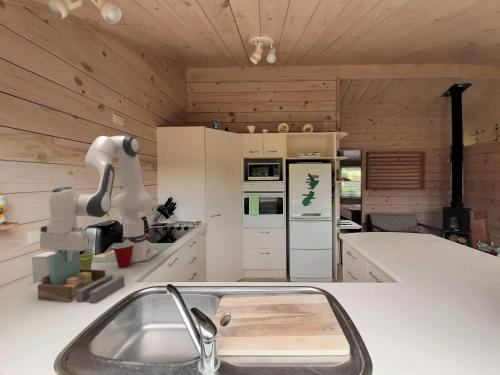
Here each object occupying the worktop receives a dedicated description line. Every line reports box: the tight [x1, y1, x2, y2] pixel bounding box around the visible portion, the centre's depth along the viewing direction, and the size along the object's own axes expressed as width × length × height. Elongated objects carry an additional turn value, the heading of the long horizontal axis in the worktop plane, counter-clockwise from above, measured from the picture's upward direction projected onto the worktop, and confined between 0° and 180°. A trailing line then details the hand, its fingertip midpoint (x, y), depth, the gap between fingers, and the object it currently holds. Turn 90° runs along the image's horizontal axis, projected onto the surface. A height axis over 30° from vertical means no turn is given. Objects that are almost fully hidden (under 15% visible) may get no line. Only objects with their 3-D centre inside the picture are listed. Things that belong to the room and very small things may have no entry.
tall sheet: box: [49, 250, 80, 286], centre depth 106 cm, size 12×2×16 cm, turn 169°
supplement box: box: [31, 251, 55, 285], centre depth 120 cm, size 7×7×13 cm
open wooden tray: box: [37, 269, 106, 303], centre depth 105 cm, size 18×14×10 cm
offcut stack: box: [64, 272, 95, 297], centre depth 105 cm, size 12×5×6 cm, turn 169°
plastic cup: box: [111, 242, 134, 269], centre depth 139 cm, size 11×11×12 cm
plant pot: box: [79, 253, 95, 270], centre depth 128 cm, size 9×9×9 cm
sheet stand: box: [75, 274, 125, 304], centre depth 103 cm, size 16×8×6 cm, turn 169°
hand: (65, 260), depth 106 cm, fingers closed on tall sheet, 2 cm apart
